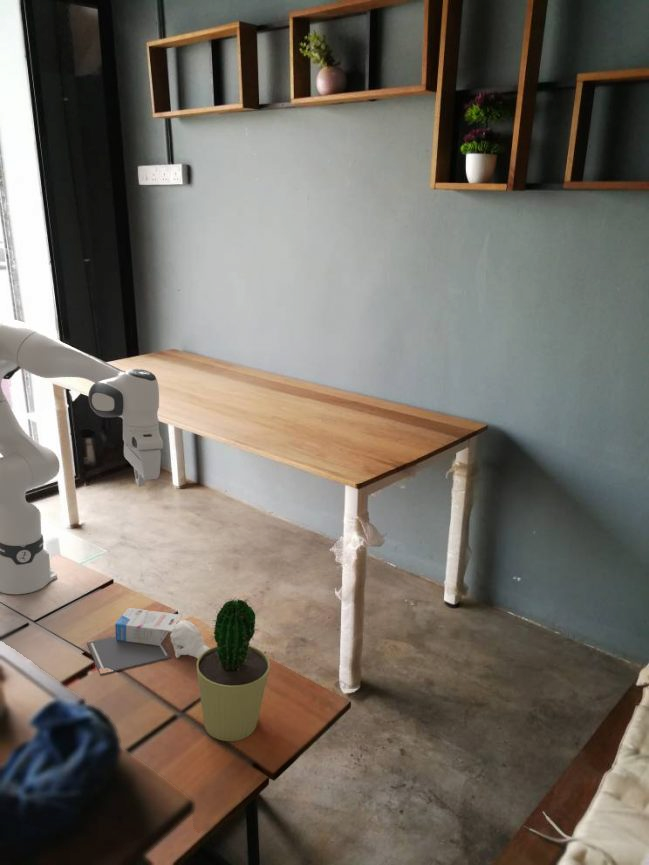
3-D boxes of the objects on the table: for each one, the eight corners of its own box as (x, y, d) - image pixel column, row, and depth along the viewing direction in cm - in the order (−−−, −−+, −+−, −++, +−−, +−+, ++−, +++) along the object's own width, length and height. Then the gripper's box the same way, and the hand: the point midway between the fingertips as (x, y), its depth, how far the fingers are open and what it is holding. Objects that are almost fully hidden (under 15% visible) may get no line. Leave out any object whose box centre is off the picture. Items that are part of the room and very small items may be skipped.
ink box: (115, 641, 175) (171, 648, 173) (114, 623, 173) (171, 630, 172) (128, 623, 183) (182, 630, 181) (128, 606, 181) (182, 613, 180)
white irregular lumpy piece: (187, 613, 174) (222, 635, 168) (184, 641, 177) (218, 664, 171) (168, 623, 169) (203, 646, 163) (166, 652, 172) (200, 675, 166)
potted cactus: (227, 760, 139) (234, 628, 131) (179, 722, 148) (182, 597, 140) (281, 723, 150) (290, 600, 142) (233, 691, 160) (238, 574, 152)
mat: (87, 643, 173) (87, 642, 173) (154, 629, 182) (154, 627, 182) (100, 674, 162) (100, 673, 161) (171, 657, 170) (171, 656, 170)
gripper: (117, 423, 183) (117, 473, 186) (139, 445, 166) (139, 499, 170) (141, 422, 186) (141, 470, 189) (165, 443, 169) (164, 496, 173)
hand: (140, 484), depth 179 cm, fingers closed
